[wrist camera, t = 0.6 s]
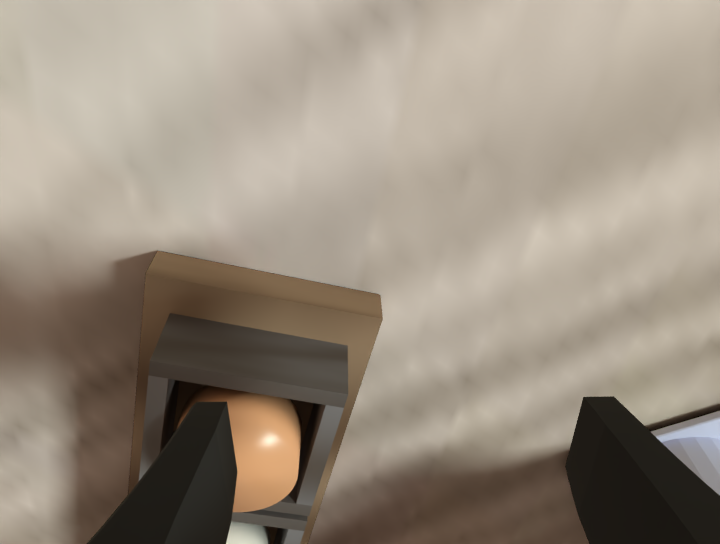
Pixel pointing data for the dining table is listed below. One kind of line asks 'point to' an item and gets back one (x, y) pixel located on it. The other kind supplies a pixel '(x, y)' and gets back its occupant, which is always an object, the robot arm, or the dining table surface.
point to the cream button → (248, 534)
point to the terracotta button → (258, 444)
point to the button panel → (253, 364)
